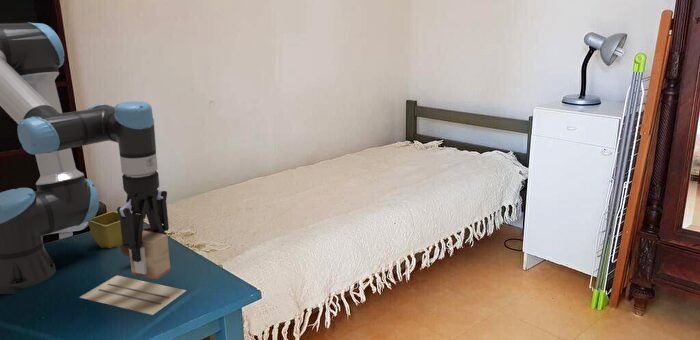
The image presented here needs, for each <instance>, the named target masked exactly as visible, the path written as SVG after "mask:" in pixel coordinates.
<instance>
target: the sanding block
mask: <svg viewBox="0 0 700 340" xmlns="http://www.w3.org/2000/svg"><path fill="white" fill-rule="evenodd" d="M135 243H136V242H135ZM141 246H142V247H144V248H145V258H146V267H147V273H146V274H141V273H137V272H135V264H134V261H133V260H132V252H131V249H128V250H129V254H130V256H129V261H130V268H131V274H132V275H134V276H139V277H145V278H148V279H153V280H158V279H159V278H161V277H163V276H164V275H165V274H167V273H168V272H170V271H171V260H170V258H171V257H170V251H169V250H170V249H169V238H168V234H167V235H165V234H160V233H154V232H149V231H143V233H142V245H141Z"/></svg>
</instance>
